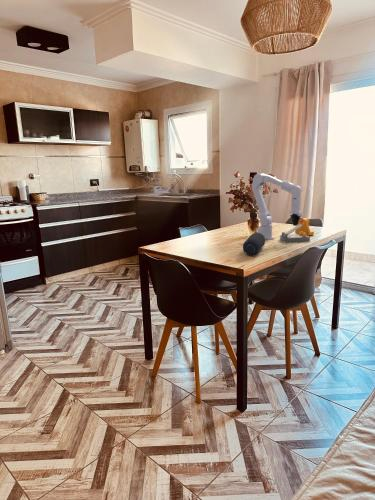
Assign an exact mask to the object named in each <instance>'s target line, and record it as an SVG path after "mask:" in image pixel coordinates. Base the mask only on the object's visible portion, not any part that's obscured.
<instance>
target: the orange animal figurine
mask: <svg viewBox="0 0 375 500" xmlns="http://www.w3.org/2000/svg"><path fill="white" fill-rule="evenodd" d="M299 224H302V225H303V226H301V227H300V228H298V229H297V230H295V231H294V234H299V232H300V231H303V233H306V235H308V236H309V237H310V236H312V235H314V234H315V231H314V230H311V229H310V226H309V224H310V219H309V218H307V217H304V218H299V221H298V224H297V226H298V225H299Z"/></svg>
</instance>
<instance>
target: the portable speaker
mask: <svg viewBox="0 0 375 500" xmlns="http://www.w3.org/2000/svg"><path fill="white" fill-rule="evenodd" d="M265 244H266V239H265V237H264V236H263V235H262V234H261V233H257V232H254V233H252V234H251V235H250V236H248V237H247V238H246V240H245V241H244V243H243V244H242V251H243V252H244V254H245V255H246V256H247V255H248V256H249V255H250V257H252V256H256V255H258V254H259V253H260V252H261V250H262V249H263V247H264V246H265Z"/></svg>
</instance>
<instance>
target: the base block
mask: <svg viewBox="0 0 375 500" xmlns="http://www.w3.org/2000/svg"><path fill="white" fill-rule="evenodd" d="M285 233H286V232H284V231H283V232H281V235H280V236H279V240H280V241H282V242H283V241H284V243H285V242H286V243H285V244H289V242H292V243H304V242H305V241H307V242H310V240H311V238H310V237H311V236H310V235H309V236H307V235H306V233H303V231H300V232H299V234H295V233H294V234H289V235H288V234H285ZM283 234H285V237H284V236H283ZM305 243H306V242H305Z"/></svg>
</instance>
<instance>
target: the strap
mask: <svg viewBox="0 0 375 500" xmlns="http://www.w3.org/2000/svg"><path fill="white" fill-rule="evenodd" d="M297 225H298V224H297ZM301 226H303V225H302V224H299V225H298V226H293V228H292V229H289V230H288V231H286V232H285V234H288V235H291V234H292V233H293V232H294V233H295V230H297V229H298V228H300V227H301ZM285 234H283V236H284V237H285Z"/></svg>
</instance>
